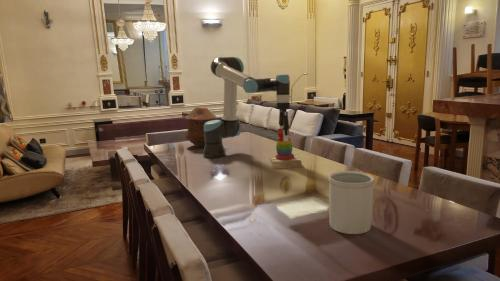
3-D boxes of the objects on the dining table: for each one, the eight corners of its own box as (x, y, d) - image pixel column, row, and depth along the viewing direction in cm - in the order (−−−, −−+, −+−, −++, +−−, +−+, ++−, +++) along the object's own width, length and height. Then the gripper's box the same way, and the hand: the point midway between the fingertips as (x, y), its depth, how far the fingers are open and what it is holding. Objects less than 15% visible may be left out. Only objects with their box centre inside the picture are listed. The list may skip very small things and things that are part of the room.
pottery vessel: (183, 144, 287) (180, 107, 281) (215, 141, 294) (212, 105, 289) (188, 150, 262) (185, 109, 257) (222, 147, 270) (219, 107, 264)
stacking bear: (293, 155, 215) (292, 126, 213) (294, 159, 205) (292, 128, 203) (275, 156, 216) (273, 127, 214) (275, 160, 206) (273, 129, 204)
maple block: (269, 162, 219) (269, 156, 218) (295, 161, 220) (295, 154, 219) (273, 169, 203) (273, 162, 202) (301, 167, 204) (301, 160, 203)
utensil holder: (364, 216, 131) (365, 169, 128) (380, 234, 116) (381, 181, 113) (324, 218, 130) (323, 171, 127) (335, 236, 116) (334, 184, 113)
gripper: (294, 103, 193) (294, 142, 197) (285, 100, 217) (286, 134, 221) (280, 104, 192) (281, 143, 196) (273, 100, 217) (274, 135, 221)
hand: (283, 138), depth 209 cm, fingers open, 13 cm apart
